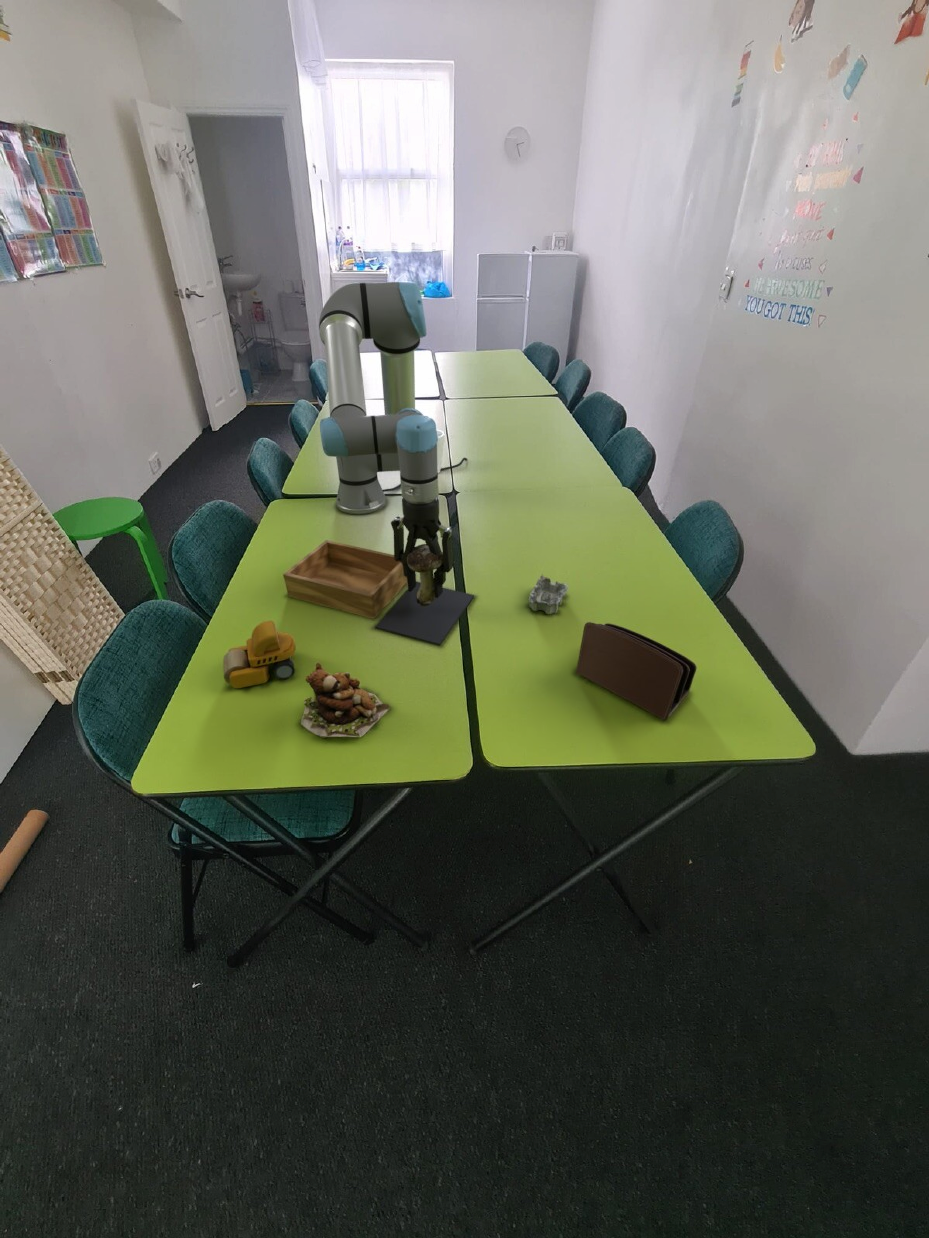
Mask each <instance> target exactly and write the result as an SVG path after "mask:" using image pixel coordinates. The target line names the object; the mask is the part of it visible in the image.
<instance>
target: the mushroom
mask: <svg viewBox="0 0 929 1238" xmlns="http://www.w3.org/2000/svg"><path fill="white" fill-rule="evenodd" d="M443 563H444V561H443V551H442V553H439V554H437V556H436V555H435V554H433V553H431V552H430V550H429V547H428V546H427V545H426V543H421V544H418V545H415V547H414V548H413V549H412V551H411V552H410V554H409V555H408V556H407V564H408V566H409V567H410V569H412V570H413V571H415V573H419V580H420V583H421V584H420V588H419V589H418V592H417V597H416V598H417V600H416V601H417V602H418V603H417V604H420V605H421V606H427V605H429V603H431V602H432V601H433V600H434V599H435V591H434V571H435V570H436V569H437V568H439V567H440V566H441V565H442V564H443Z"/></svg>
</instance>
